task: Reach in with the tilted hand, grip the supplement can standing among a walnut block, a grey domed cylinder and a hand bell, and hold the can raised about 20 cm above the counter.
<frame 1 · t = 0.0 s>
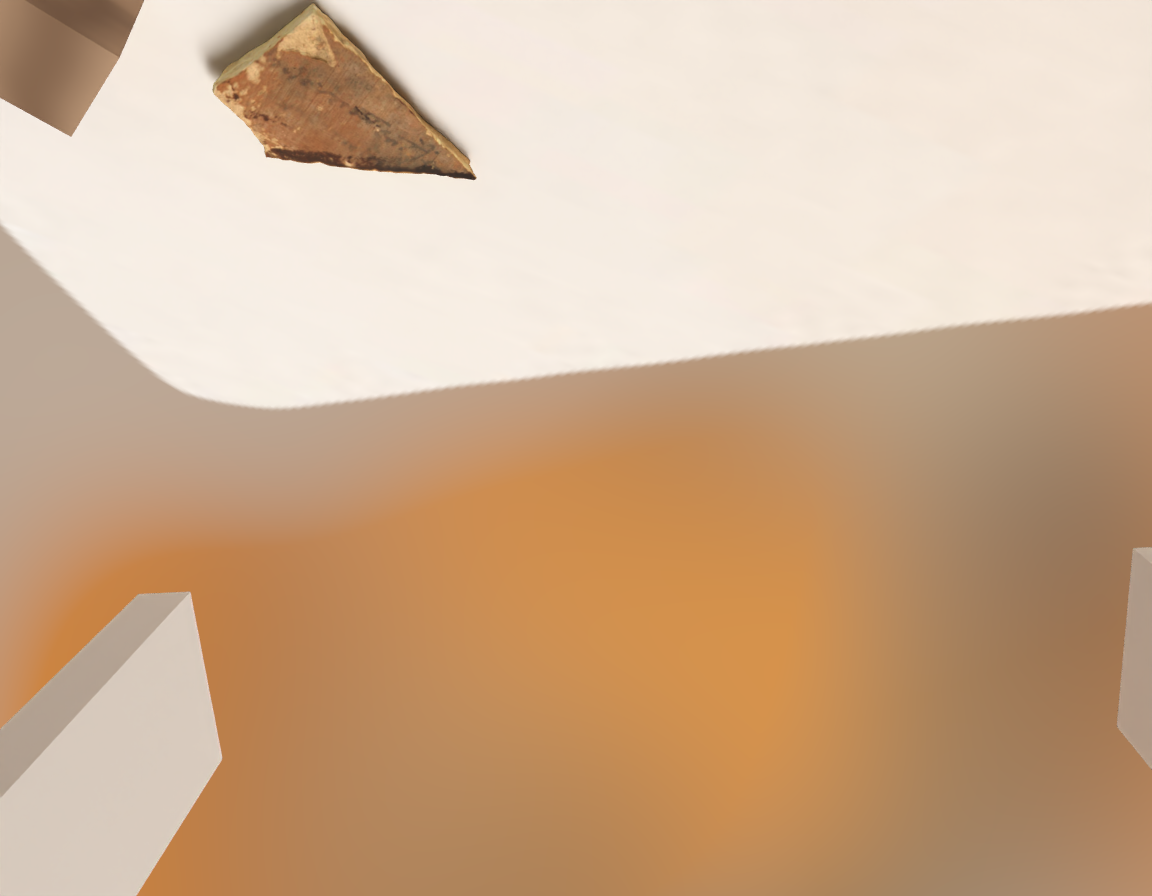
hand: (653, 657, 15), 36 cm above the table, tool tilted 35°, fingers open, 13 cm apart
shard: (353, 78, 49), on the table
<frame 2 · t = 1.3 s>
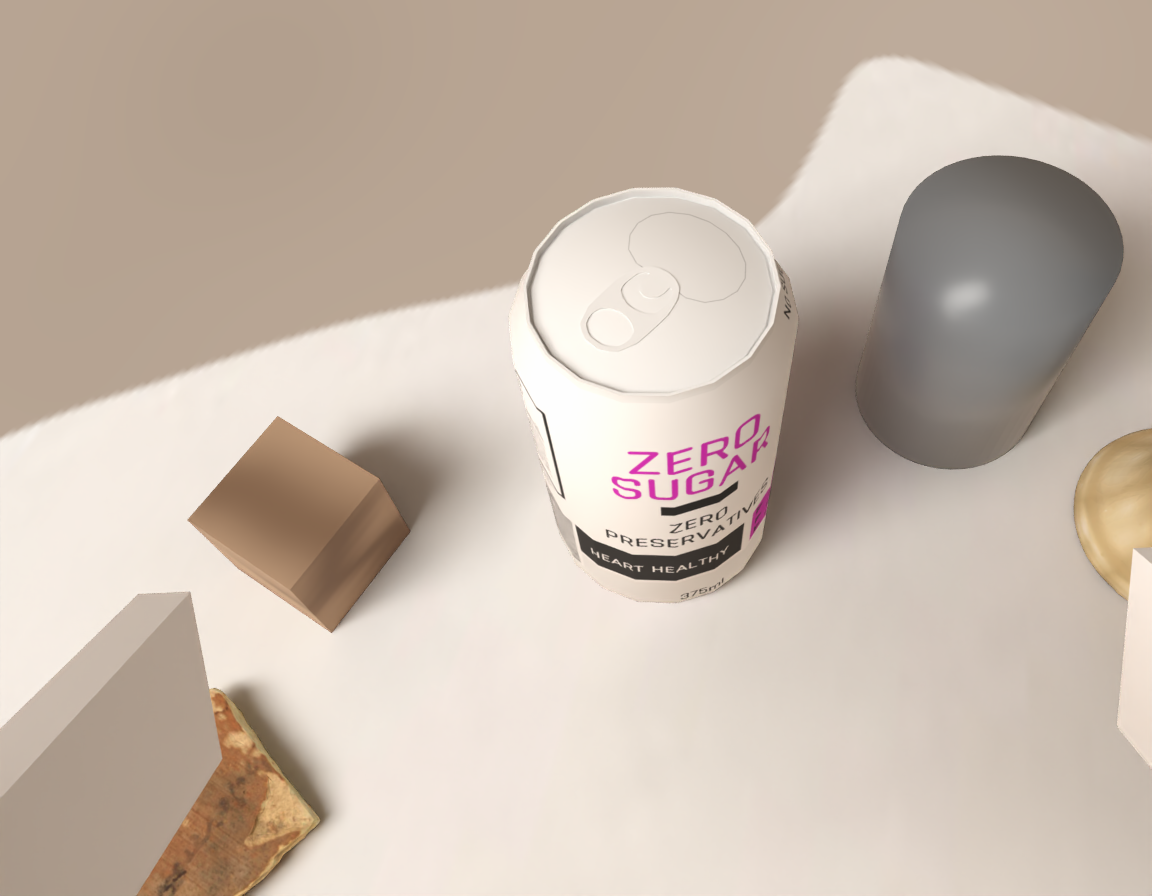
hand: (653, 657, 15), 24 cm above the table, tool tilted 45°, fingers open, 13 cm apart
shard: (213, 867, 38), on the table
grey domed cylinder: (942, 392, 43), on the table
supplement can: (661, 513, 42), on the table
walnut block: (324, 550, 43), on the table
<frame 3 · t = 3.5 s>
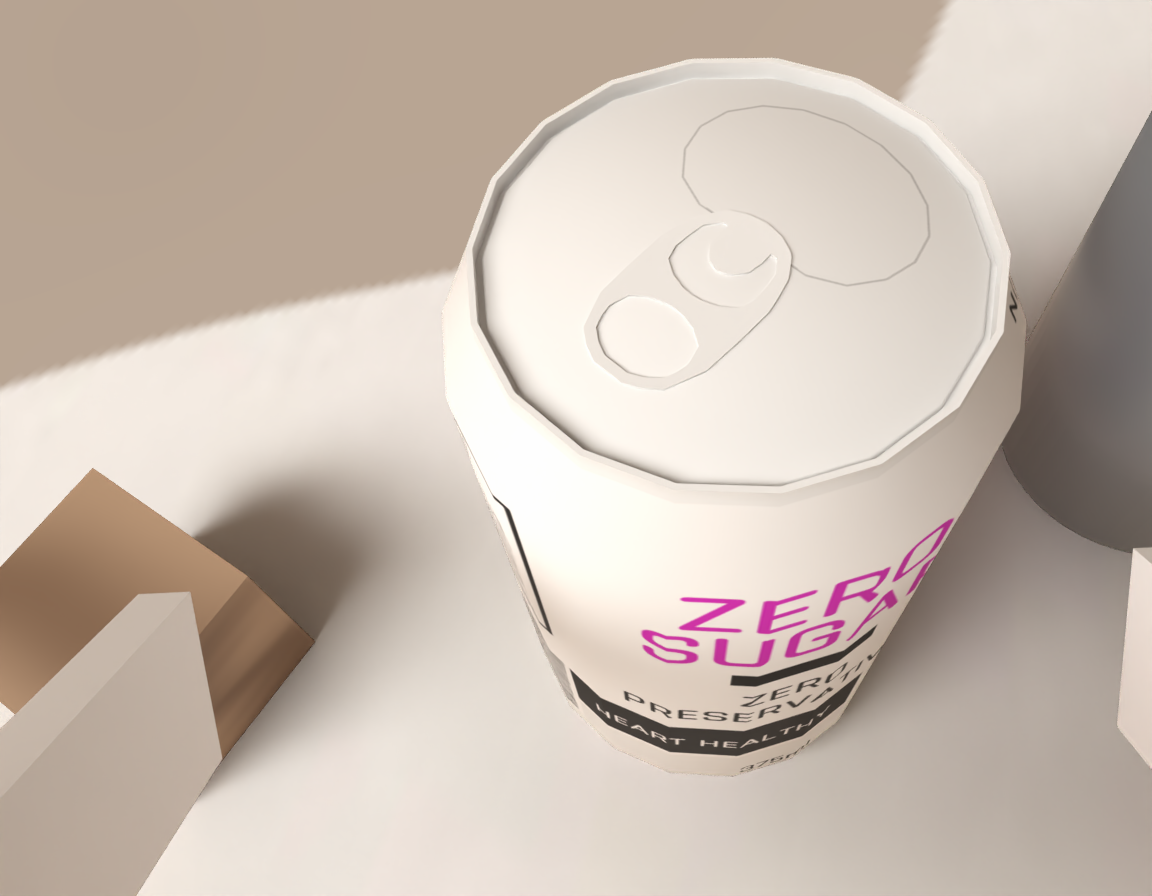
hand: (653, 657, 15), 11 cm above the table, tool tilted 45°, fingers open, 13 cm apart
grey domed cylinder: (1134, 433, 28), on the table
supplement can: (703, 618, 27), on the table
walnut block: (183, 670, 28), on the table
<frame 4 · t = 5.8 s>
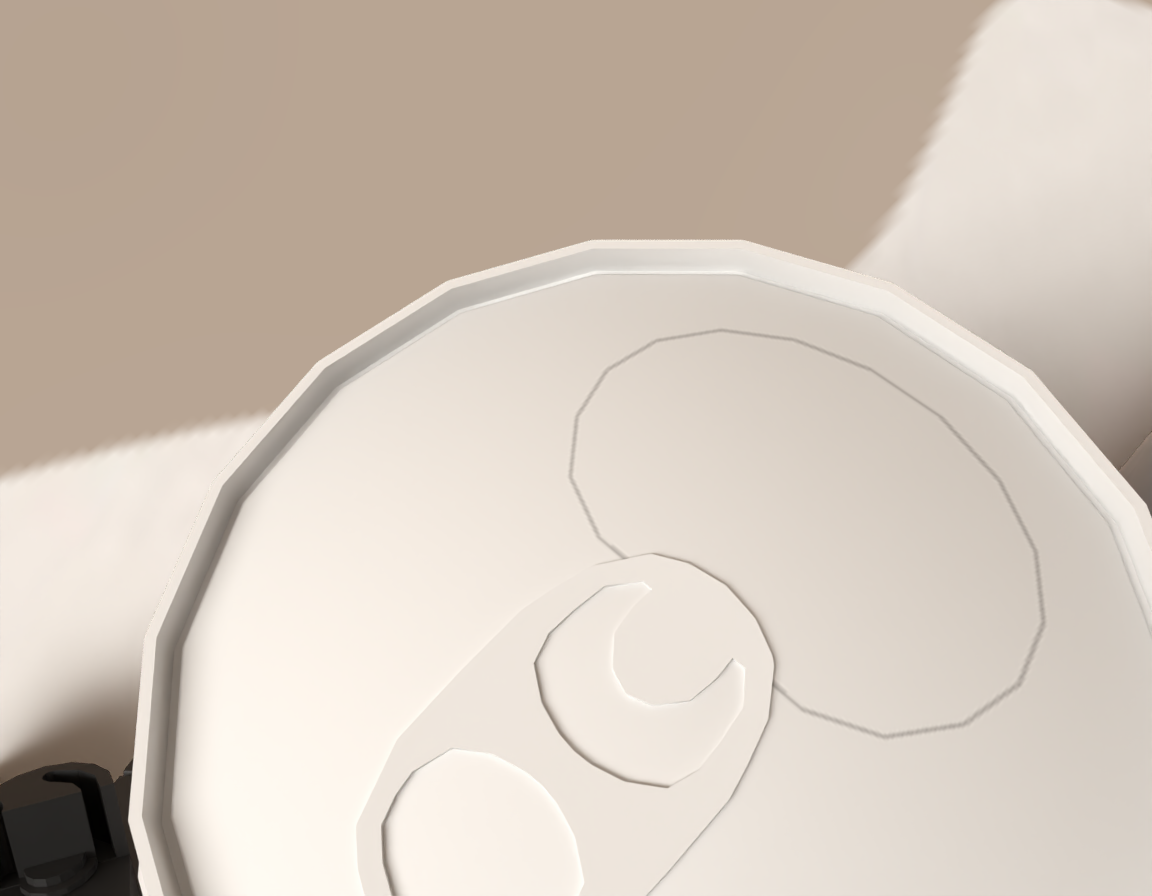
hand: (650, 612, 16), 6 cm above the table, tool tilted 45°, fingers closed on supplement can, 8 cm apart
supplement can: (666, 888, 20), on the table, touching gripper
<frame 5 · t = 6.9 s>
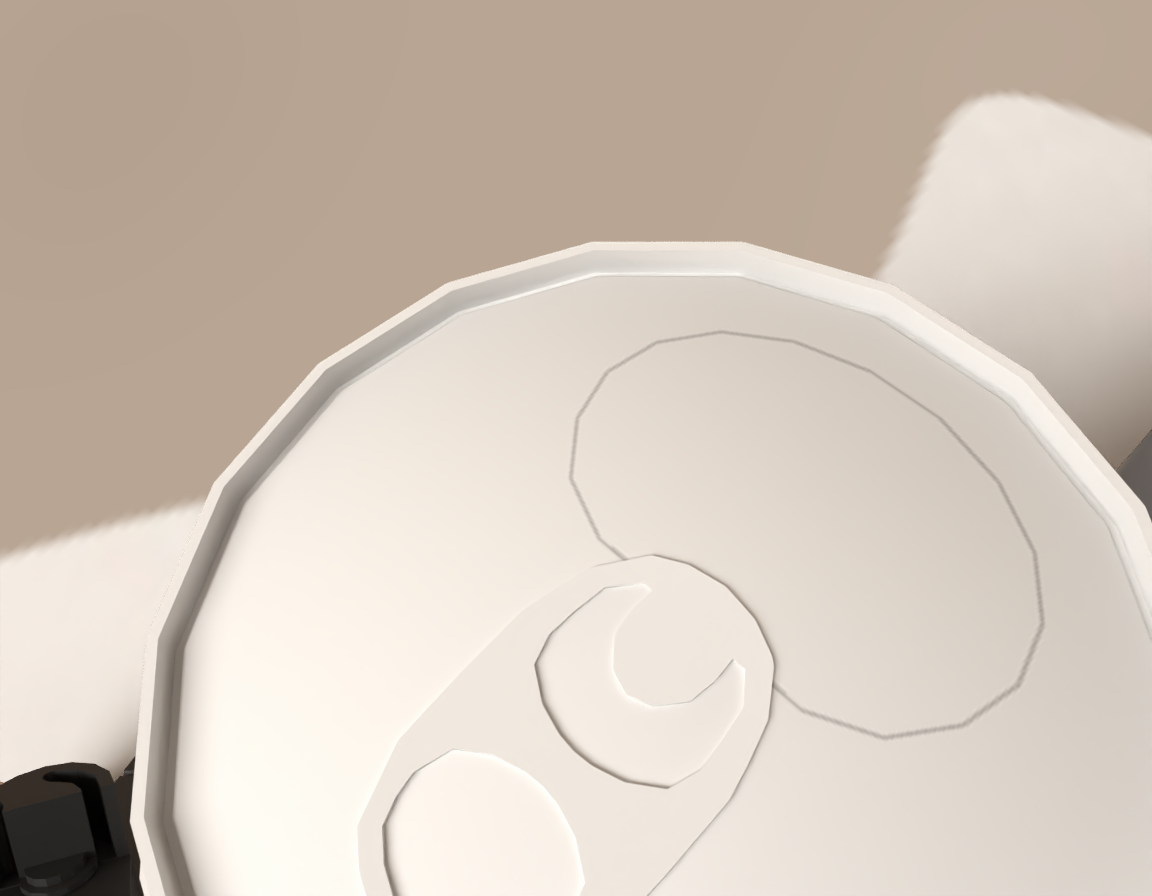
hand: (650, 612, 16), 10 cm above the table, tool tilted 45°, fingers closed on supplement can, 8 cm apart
grey domed cylinder: (1144, 678, 25), on the table
supplement can: (666, 888, 20), point 4 cm above the table, touching gripper
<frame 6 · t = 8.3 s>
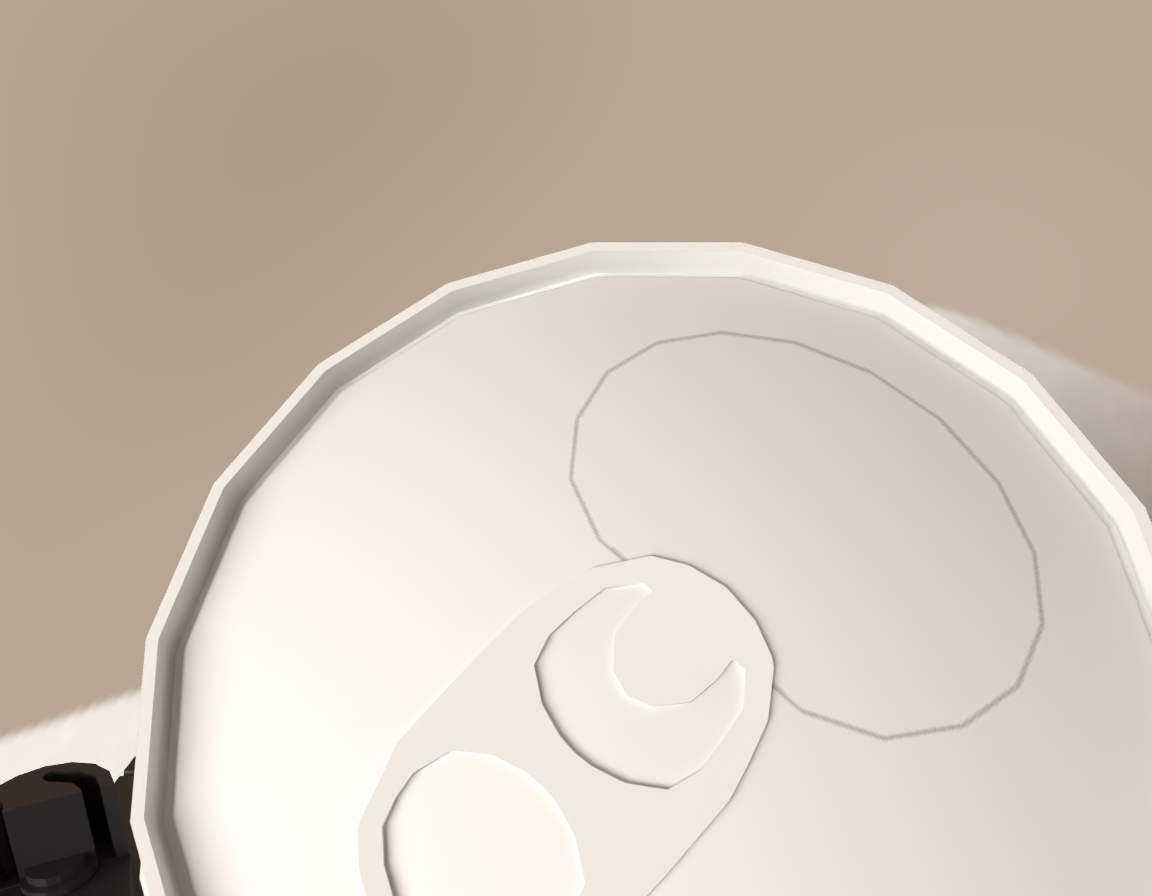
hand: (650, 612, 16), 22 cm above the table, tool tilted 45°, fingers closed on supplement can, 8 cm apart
supplement can: (666, 888, 20), point 16 cm above the table, touching gripper
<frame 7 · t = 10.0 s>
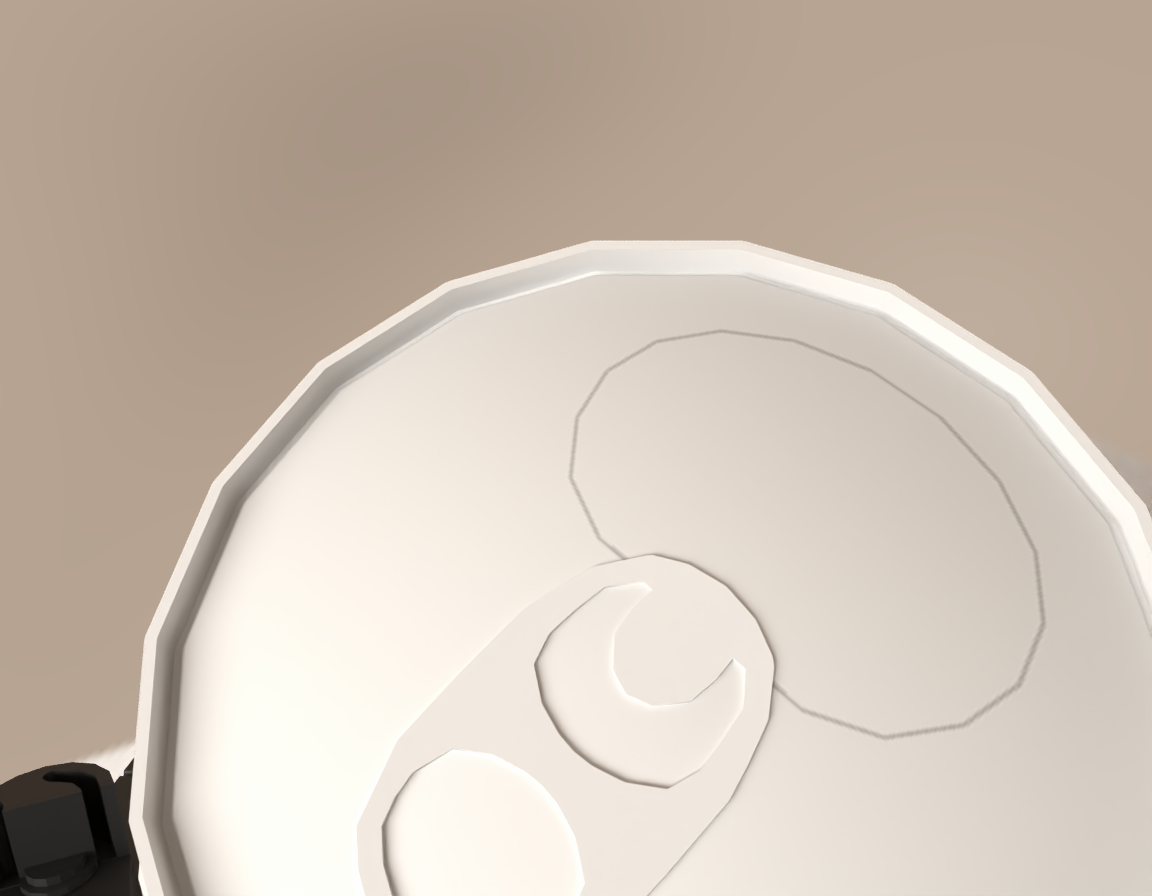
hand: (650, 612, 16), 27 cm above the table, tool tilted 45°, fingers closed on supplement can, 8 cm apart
supplement can: (666, 888, 20), point 20 cm above the table, touching gripper
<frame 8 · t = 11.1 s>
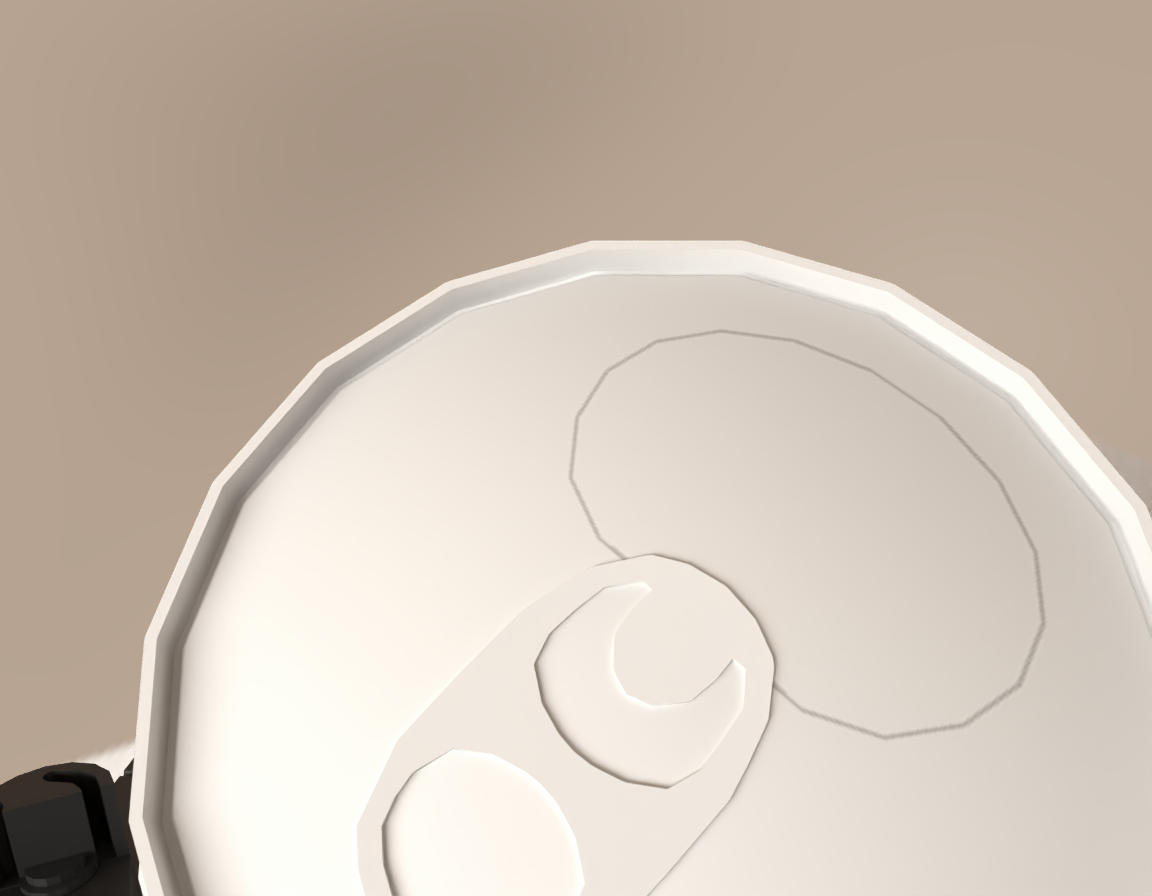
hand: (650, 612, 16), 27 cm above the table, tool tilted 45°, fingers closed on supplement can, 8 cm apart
supplement can: (666, 888, 20), point 20 cm above the table, touching gripper
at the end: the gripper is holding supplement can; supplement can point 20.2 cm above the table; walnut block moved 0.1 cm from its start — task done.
